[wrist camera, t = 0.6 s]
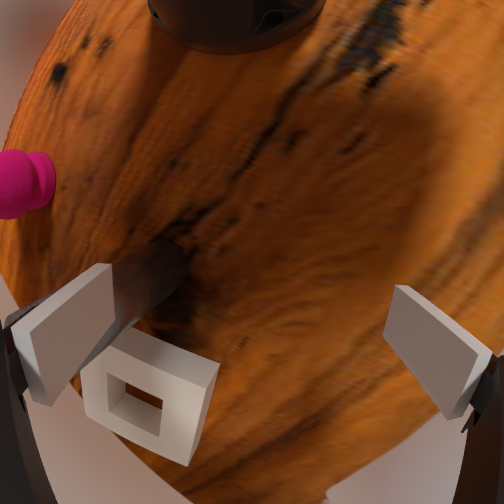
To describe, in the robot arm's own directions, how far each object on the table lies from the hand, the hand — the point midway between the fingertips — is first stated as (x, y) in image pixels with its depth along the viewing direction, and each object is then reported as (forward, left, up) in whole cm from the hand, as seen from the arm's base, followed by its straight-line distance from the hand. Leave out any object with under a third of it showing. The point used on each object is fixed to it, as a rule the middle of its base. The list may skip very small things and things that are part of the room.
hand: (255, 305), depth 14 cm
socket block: (+20, -10, -11) cm, 25 cm away
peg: (+5, -10, -11) cm, 16 cm away
